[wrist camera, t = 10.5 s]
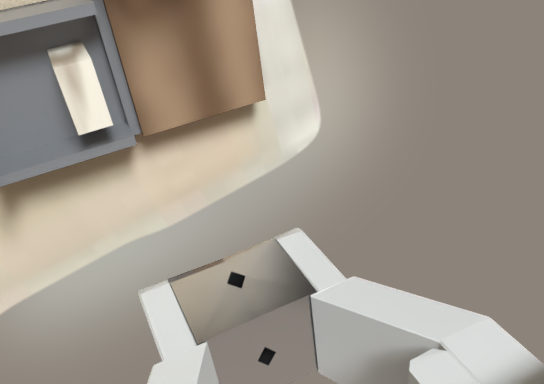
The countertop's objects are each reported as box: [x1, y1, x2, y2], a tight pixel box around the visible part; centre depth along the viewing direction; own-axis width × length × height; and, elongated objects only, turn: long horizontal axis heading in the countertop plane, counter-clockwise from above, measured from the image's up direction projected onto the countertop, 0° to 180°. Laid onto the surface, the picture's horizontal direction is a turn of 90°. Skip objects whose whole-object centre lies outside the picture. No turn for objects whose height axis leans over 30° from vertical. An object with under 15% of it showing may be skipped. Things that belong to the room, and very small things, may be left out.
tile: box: [47, 41, 113, 135], centre depth 37 cm, size 5×5×2 cm
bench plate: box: [103, 0, 266, 137], centre depth 41 cm, size 11×11×3 cm
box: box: [0, 0, 141, 187], centre depth 37 cm, size 12×11×6 cm
